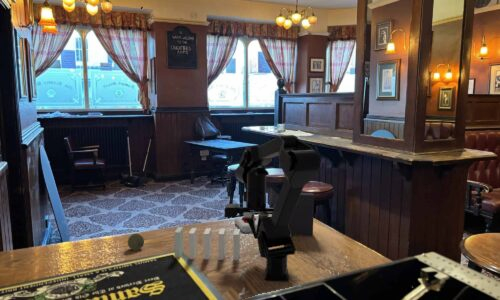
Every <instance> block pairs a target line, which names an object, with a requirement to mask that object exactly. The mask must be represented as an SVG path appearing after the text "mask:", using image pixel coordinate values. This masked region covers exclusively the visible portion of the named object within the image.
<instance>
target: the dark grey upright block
mask: <svg viewBox="0 0 500 300" xmlns="http://www.w3.org/2000/svg"><path fill="white" fill-rule="evenodd" d="M314 207H315V196H314V192H301V195H300V197H299V199H298V202H297V204H296V207H295V209H294V212H293V214H292V217H291V219H290V222H289V224H288V226H289V228H290V231H291V236H303V237H305V236H306V237H307V236H309V237H310V236H311V237H313V236H314V213H315V212H314Z"/></svg>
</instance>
